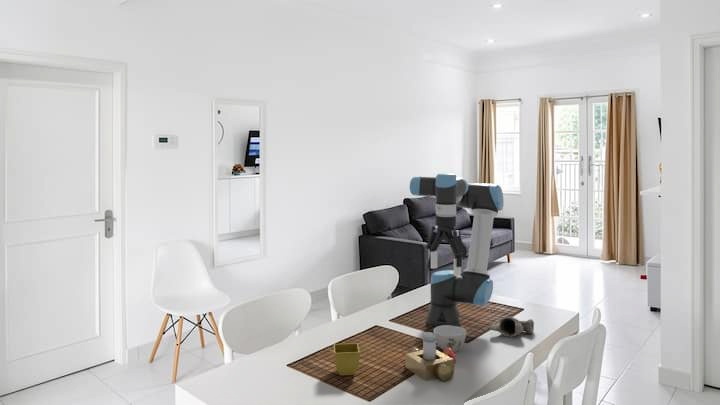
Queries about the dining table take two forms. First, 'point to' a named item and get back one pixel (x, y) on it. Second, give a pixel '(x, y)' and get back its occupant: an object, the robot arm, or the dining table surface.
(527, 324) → the grey hollow piece
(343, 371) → the flower pot
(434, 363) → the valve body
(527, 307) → the dining table surface
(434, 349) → the white capped shaker
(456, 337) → the teacup
